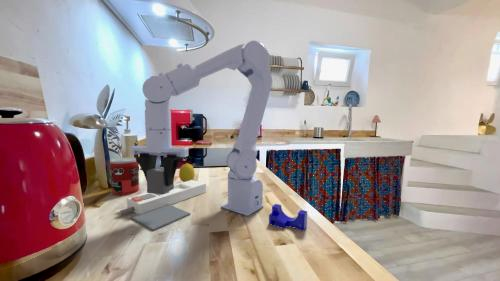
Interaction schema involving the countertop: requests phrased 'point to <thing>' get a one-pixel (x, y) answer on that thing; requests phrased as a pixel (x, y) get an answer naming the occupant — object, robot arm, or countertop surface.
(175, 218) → the mat
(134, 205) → the strip
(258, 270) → the countertop surface
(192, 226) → the countertop surface
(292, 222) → the cable holder
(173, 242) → the countertop surface
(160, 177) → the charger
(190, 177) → the lemon
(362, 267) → the countertop surface
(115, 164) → the canned food
